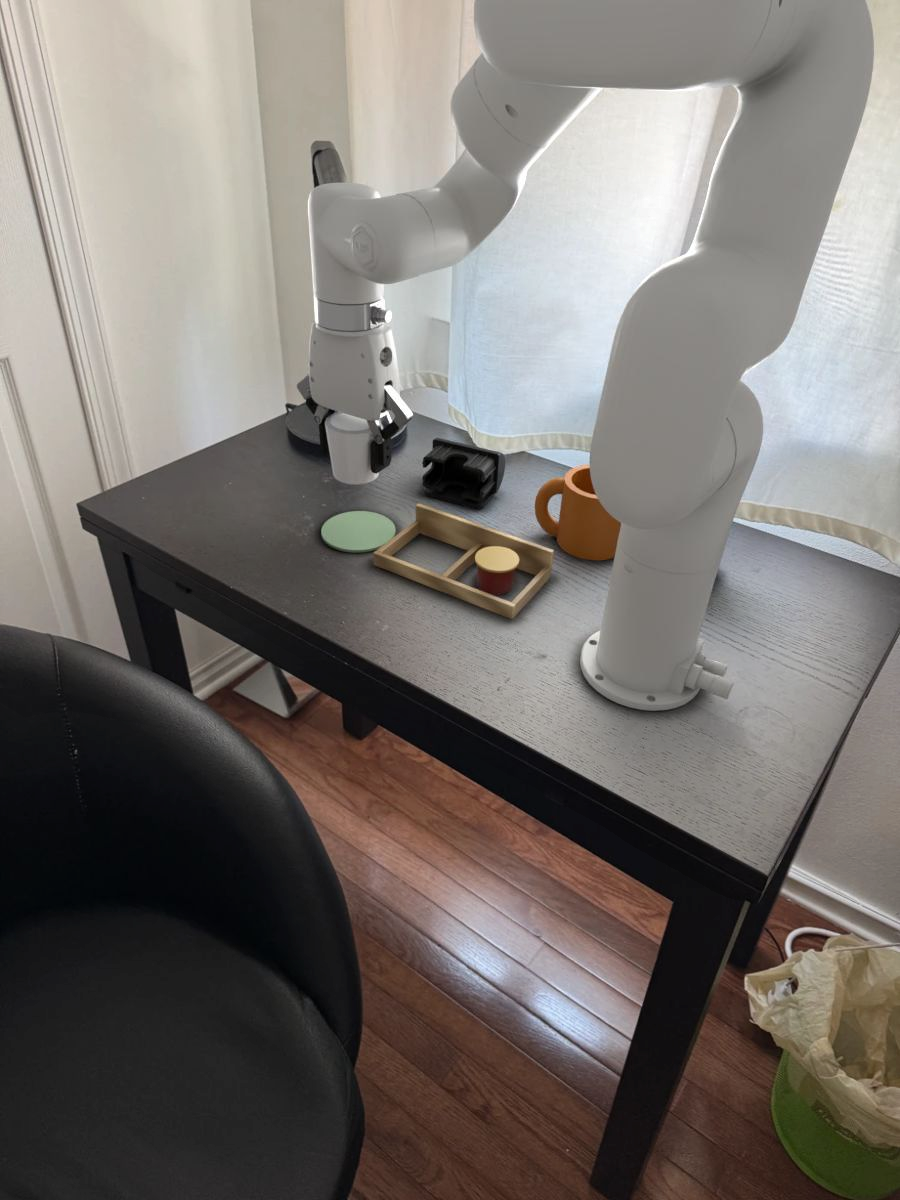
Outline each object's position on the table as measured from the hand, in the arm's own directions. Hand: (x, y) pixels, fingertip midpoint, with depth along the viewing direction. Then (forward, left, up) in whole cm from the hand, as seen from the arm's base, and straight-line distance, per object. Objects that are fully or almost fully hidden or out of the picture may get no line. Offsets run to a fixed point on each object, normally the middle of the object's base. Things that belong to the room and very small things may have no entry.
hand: (355, 459), depth 97 cm
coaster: (0, 0, -11) cm, 11 cm away
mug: (-25, -15, -11) cm, 31 cm away
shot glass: (0, 0, -2) cm, 2 cm away
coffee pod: (-20, 0, -11) cm, 23 cm away
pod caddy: (-16, 0, -11) cm, 19 cm away
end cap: (-6, -17, -11) cm, 21 cm away
